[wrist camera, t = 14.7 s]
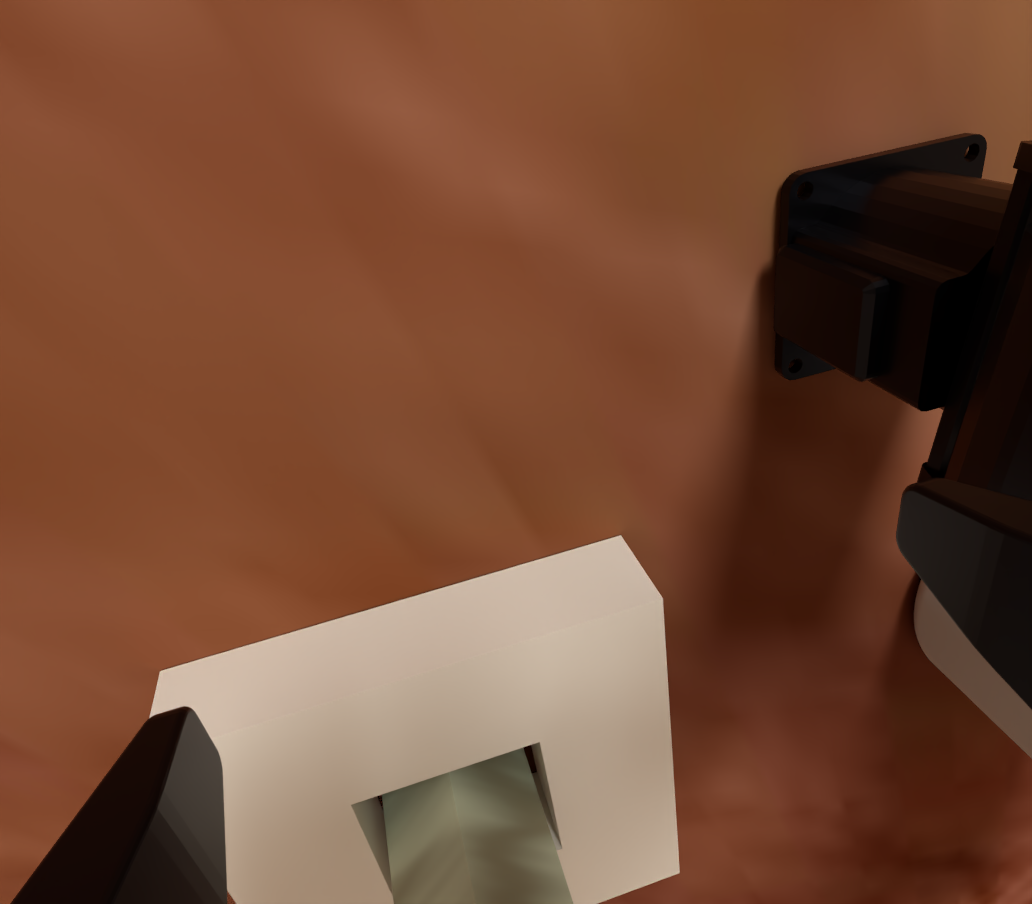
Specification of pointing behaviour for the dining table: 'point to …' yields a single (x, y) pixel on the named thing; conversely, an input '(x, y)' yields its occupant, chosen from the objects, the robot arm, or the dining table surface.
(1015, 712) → the cylinder vase
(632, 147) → the dining table surface
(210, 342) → the dining table surface
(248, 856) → the socket block
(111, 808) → the robot arm
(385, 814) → the peg
